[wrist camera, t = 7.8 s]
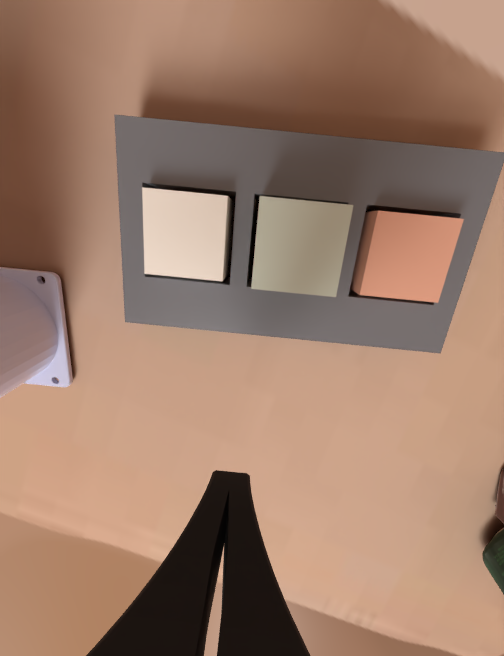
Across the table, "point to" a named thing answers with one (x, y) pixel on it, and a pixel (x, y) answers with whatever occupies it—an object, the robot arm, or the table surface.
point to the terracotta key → (404, 255)
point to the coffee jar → (496, 558)
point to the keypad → (301, 184)
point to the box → (500, 499)
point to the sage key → (300, 246)
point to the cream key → (187, 234)
